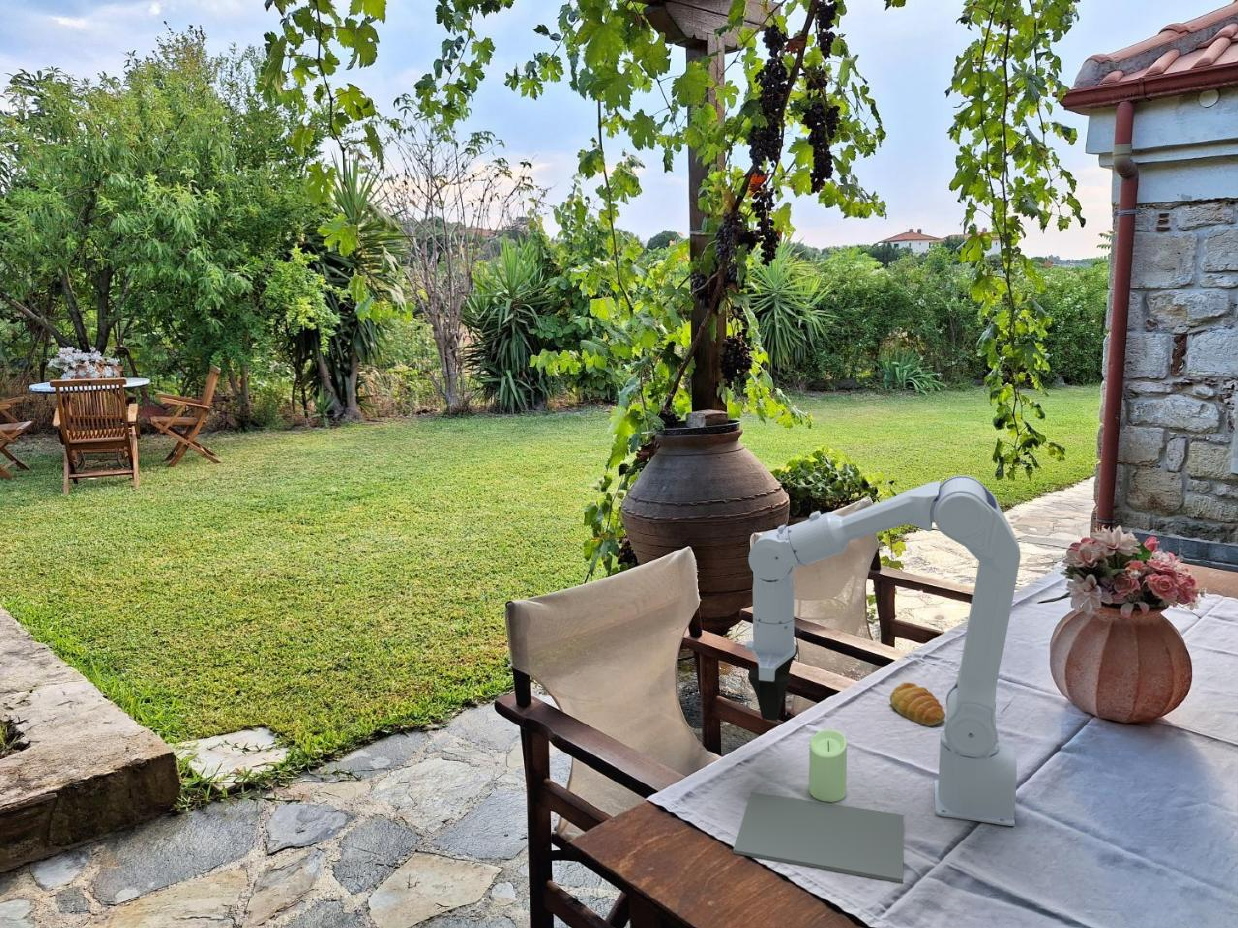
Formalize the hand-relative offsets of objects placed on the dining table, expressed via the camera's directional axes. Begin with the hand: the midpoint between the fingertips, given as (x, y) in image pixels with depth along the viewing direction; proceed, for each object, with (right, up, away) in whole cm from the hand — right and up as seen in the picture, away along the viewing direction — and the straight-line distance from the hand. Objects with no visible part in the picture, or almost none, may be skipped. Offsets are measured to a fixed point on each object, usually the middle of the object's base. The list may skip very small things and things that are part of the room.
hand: (774, 706), depth 122 cm
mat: (+4, -13, -13) cm, 19 cm away
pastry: (+27, -6, +18) cm, 33 cm away
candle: (+7, -11, -4) cm, 13 cm away
